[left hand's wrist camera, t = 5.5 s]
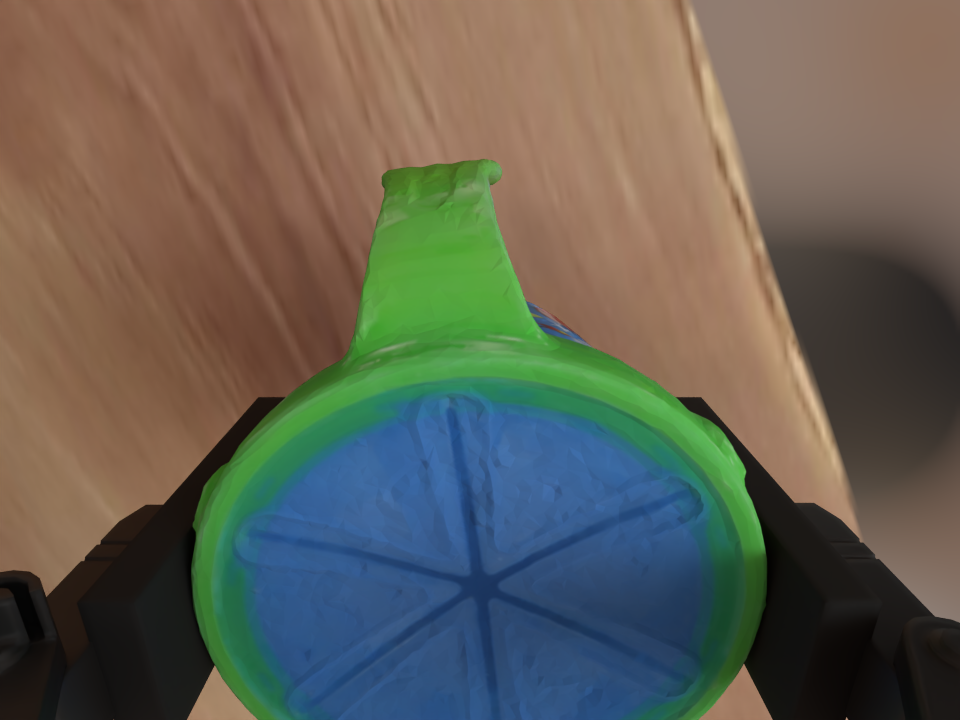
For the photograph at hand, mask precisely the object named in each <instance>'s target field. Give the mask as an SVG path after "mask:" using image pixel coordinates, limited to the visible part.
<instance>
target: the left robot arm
mask: <svg viewBox="0 0 960 720" xmlns="http://www.w3.org/2000/svg"><path fill="white" fill-rule="evenodd" d="M285 398H286V397H258V399H257V400H256V401H255V402H254V403H253V404H252V405H251V406H250V408H249V409H248V410H247V411H246V412H245V413H244V414H243V415H242V417H241V418H240V419H239V420H238V421H237V422H236V423H235V424H234V426H233V427H232V428H231V429H230V430H229V431H228V432H227V434H226V435H225V436H224V437H223V438H222V439H221V440H220V441H219V443H218V444H217V445H216V446H215V447H214V448H213V449H212V450H211V452H210V453H209V454H208V455H207V456H206V457H205V458H204V459H203V461H202V462H201V463H200V464H199V465H198V466H197V467H196V469H195V470H194V471H193V472H192V473H191V474H190V475H189V476H188V478H187V479H186V480H185V481H184V482H183V483H182V484H181V485H180V487H179V488H178V489H177V490H176V491H175V492H174V493H173V495H172V496H171V497H170V498H169V499H168V500H167V501H166V502H165V504H164V505H145V506H143V507H142V508H140V509H139V510H137V511H135V512H134V513H132V514H131V515H129V516H127V517H126V518H124V519H122V520H121V521H119V522H118V523H117V524H116V525H115V527H114V528H113V529H112V530H111V531H110V532H109V533H108V534H107V535H106V536H105V537H104V538H103V539H102V540H101V544H100V545H96V546H95V547H94V548H93V549H92V550H91V551H90V552H89V553H88V555H87V556H86V557H85V561H81V562H80V563H79V564H78V565H77V566H76V567H75V568H74V569H73V570H72V571H71V572H70V573H69V574H68V575H67V576H66V577H65V578H64V579H63V580H62V581H61V583H60V584H59V585H58V586H57V587H56V588H55V589H54V590H53V591H52V592H51V593H50V594H49V595H48V596H47V597H46V595H45V592H44V589H43V587H42V584H41V581H40V578H39V577H37V576H36V575H34V574H33V573H31V572H27V571H16V570H12V571H6V572H0V720H113V719H114V720H187V718H188V716H189V714H190V712H191V710H192V709H193V707H194V705H195V703H196V701H197V699H198V697H199V695H200V693H201V691H202V689H203V687H204V685H205V683H206V681H207V679H208V677H209V675H210V673H211V671H212V669H213V668H214V666H215V664H214V662H213V661H212V659H211V657H210V654H209V652H208V650H207V648H206V645H205V643H204V641H203V638H202V636H201V634H200V631H199V626H198V623H197V620H196V616H195V612H194V608H193V597H192V582H191V564H192V559H193V553H194V548H195V542H196V531H195V529H194V528H193V522H194V520H195V514H196V511H197V507H198V504H199V501H200V498H201V495H202V491H203V488H204V485H205V484H206V483H207V482H208V480H209V479H210V478H211V476H212V475H213V474H214V473H215V472H216V471H217V470H218V469H219V468H220V467H221V466H223V465H225V464H227V463H228V462H230V460H231V458H232V457H233V455H234V454H235V452H236V450H237V449H238V447H239V445H240V444H241V443H242V442H243V441H244V439H245V438H246V437H247V436H248V435H249V434H250V433H251V431H252V430H253V429H254V428H255V427H256V426H257V425H258V424H259V423H260V421H261V420H262V419H263V418H264V417H265V416H266V415H267V414H268V413H269V412H270V411H271V410H273V409H274V408H275V407H276V406H277V405H278V404H279V403H280V402H282V401H283V400H284V399H285ZM676 398H677V399H678V400H679V401H680V402H681V403H682V404H683V405H684V406H685V407H686V408H687V409H688V410H689V411H690V412H693V413H695V414H697V415H699V416H701V417H704V418H706V419H708V420H710V421H711V422H712V423H714V424H715V425H716V426H717V427H719V428H720V429H721V431H722V432H723V433H724V434H725V436H726V437H727V438H728V440H729V441H730V443H731V445H732V446H733V449H734V450H735V452H736V453H737V455H738V457H739V458H740V460H741V462H742V463H743V465H744V467H745V470H746V474H745V478H744V481H745V487H746V490H747V493H748V495H749V496H750V498H751V500H752V502H753V505H754V508H755V511H756V514H757V517H758V520H759V523H760V526H761V530H762V535H763V540H764V546H765V551H766V557H767V596H766V607H765V609H764V611H763V615H762V619H761V622H760V625H759V628H758V630H757V633H756V636H755V639H754V642H753V645H752V647H751V649H750V652H749V654H748V656H747V658H746V660H745V662H744V664H745V666H746V668H747V670H748V672H749V674H750V676H751V678H752V680H753V682H754V684H755V686H756V688H757V690H758V692H759V694H760V696H761V698H762V699H763V701H764V703H765V705H766V707H767V709H768V711H769V713H770V715H771V717H772V719H773V720H846V717H847V718H848V720H960V623H959V622H956V621H954V620H950V619H945V618H939V617H935V616H934V615H933V614H932V613H931V612H930V611H929V610H928V609H927V608H926V607H925V606H924V605H923V604H922V603H921V602H920V601H919V600H918V599H917V598H916V597H915V596H914V595H913V594H912V593H911V592H910V590H909V589H908V588H907V587H906V586H905V585H904V584H903V583H902V582H901V581H900V580H899V579H898V578H897V577H896V576H895V575H894V574H893V573H892V572H891V571H890V570H889V569H888V568H887V567H886V566H885V565H884V564H883V563H882V562H881V561H880V560H879V559H876V558H875V554H874V553H873V552H872V551H871V550H870V549H869V548H868V547H867V546H866V545H865V544H864V543H860V541H859V538H858V537H857V536H856V535H855V534H854V533H853V532H852V531H851V530H850V529H849V528H848V527H847V526H846V524H845V523H844V522H843V521H842V520H841V519H839V518H837V517H836V516H834V515H833V514H831V513H829V512H828V511H826V510H825V509H823V508H821V507H820V506H818V505H816V504H815V503H794V502H793V501H792V499H791V498H790V497H789V496H788V495H787V494H786V493H785V492H784V490H783V489H782V488H781V487H780V486H779V485H778V484H777V483H776V481H775V480H774V479H773V478H772V477H771V476H770V475H769V473H768V472H767V471H766V470H765V469H764V468H763V467H762V466H761V464H760V463H759V462H758V461H757V460H756V459H755V458H754V457H753V455H752V454H751V453H750V452H749V451H748V450H747V449H746V448H745V446H744V445H743V444H742V443H741V442H740V441H739V440H738V438H737V437H736V436H735V435H734V434H733V433H732V432H731V431H730V429H729V428H728V427H727V426H726V425H725V424H724V423H723V422H722V420H721V419H720V418H719V417H718V416H717V415H716V414H715V412H714V411H713V410H712V409H711V408H710V407H709V406H708V405H707V403H706V402H705V401H704V400H703V399H702V398H701V397H676Z"/></svg>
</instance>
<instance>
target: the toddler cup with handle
mask: <svg viewBox="0 0 960 720" xmlns="http://www.w3.org/2000/svg"><path fill="white" fill-rule="evenodd" d="M501 176H502V169H501V167H500V165H499V164H498V163H496V162H495V161H492V160H487V159H481V160H475V161H462V162H458V163H453V164H434V165H430V166H426V167H407V168H400V169H394V170H388V171H387V172H386V173H384V174H383V176H382V186H383V187H384V188H385V192H384V199H383V202H382V206H381V211H380V214H379V217H378V219H377V222H376V228H375V231H374V234H373V239H372V244H371V249H370V253H369V258H368V264H367V269H366V273H365V278H364V282H363V287H362V292H361V298H360V303H359V309H358V314H357V320H356V326H355V331H354V335H353V338H352V341H351V344H350V347H349V350H348V352H347V353H346V355H345V356H344V358H343V359H342V360H340V361H338V362H337V363H335V364H333V365H331V366H329V367H327V368H325V369H324V370H322V371H321V372H319V373H318V374H316V375H315V376H313V377H312V378H310V379H309V380H308V381H306V382H305V383H303V384H302V385H301V386H299V387H298V388H297V389H295V390H294V391H293V392H292V393H290V394H289V395H288V396H287V397H286V398H285V399H284V400H283V401H282V402H280V403H279V404H278V405H277V406H276V407H275V408H274V409H273V410H271V411H270V412H269V413H268V414H267V415H266V416H265V417H264V418H263V419H262V420H261V421H260V423H259V424H258V425H257V426H256V427H255V428H254V429H253V430H252V431H251V433H250V434H249V435H248V436H247V437H246V438H245V439H244V441H243V442H242V443H241V444H240V445H239V447H238V449H237V450H236V452H235V454H234V455H233V457H232V458H231V460H230V462H228V463H227V464H225V465H223V466H221V467H220V468H219V469H218V470H217V471H216V472H215V473H214V474H213V475H212V476H211V478H210V479H209V480H208V482H207V483H206V484H205V485H204V488H203V491H202V495H201V498H200V501H199V504H198V507H197V511H196V514H195V520H194V522H193V528H194V529H195V531H196V542H195V548H194V553H193V559H192V564H191V582H192V597H193V608H194V612H195V616H196V620H197V623H198V626H199V631H200V634H201V636H202V638H203V641H204V643H205V645H206V648H207V650H208V652H209V654H210V657H211V659H212V661H213V662H214V664H215V666H216V668H217V670H218V671H219V673H220V675H221V677H222V679H223V680H224V681H225V683H226V684H227V685H228V687H229V688H230V689H231V690H232V692H233V693H234V694H235V696H236V697H237V698H238V699H239V700H240V701H241V702H242V704H243V705H244V706H245V707H246V708H247V709H248V710H249V711H250V712H251V713H252V714H253V715H254V716H255V717H256V718H257V719H258V720H699V718H700V717H701V716H703V715H704V714H705V713H706V712H707V711H708V710H709V709H710V708H711V707H712V706H713V705H714V704H715V703H716V701H717V700H718V699H719V698H720V696H721V695H722V694H723V693H724V691H725V690H726V689H727V687H728V686H729V685H730V684H731V683H732V681H733V680H734V679H735V677H736V676H737V674H738V673H739V671H740V669H741V668H742V666H743V664H744V662H745V660H746V658H747V656H748V654H749V652H750V649H751V647H752V645H753V642H754V639H755V636H756V633H757V630H758V628H759V625H760V622H761V619H762V615H763V611H764V609H765V607H766V596H767V557H766V551H765V546H764V540H763V535H762V530H761V526H760V523H759V520H758V517H757V514H756V511H755V508H754V505H753V502H752V500H751V498H750V496H749V495H748V493H747V490H746V487H745V481H744V478H745V474H746V470H745V467H744V465H743V463H742V462H741V460H740V458H739V457H738V455H737V453H736V452H735V450H734V449H733V446H732V445H731V443H730V441H729V440H728V438H727V437H726V436H725V434H724V433H723V432H722V431H721V429H720V428H719V427H717V426H716V425H715V424H714V423H712V422H711V421H710V420H708V419H706V418H704V417H701V416H699V415H697V414H695V413H693V412H690V411H689V410H688V409H687V408H686V407H685V406H684V405H683V404H682V403H681V402H680V401H679V400H678V399H677V398H676V397H674V396H673V395H671V394H670V393H669V392H667V391H666V390H665V389H664V388H662V387H661V386H660V385H659V384H658V383H656V382H655V381H653V380H651V379H649V378H648V377H646V376H645V375H643V374H642V373H640V372H638V371H637V370H635V369H634V368H632V367H630V366H629V365H627V364H625V363H624V362H622V361H621V360H619V359H617V358H615V357H613V356H610V355H608V354H606V353H603V352H601V351H599V350H597V349H594V348H593V347H591V346H590V345H589V344H588V343H587V342H586V341H585V340H583V339H582V338H581V337H580V336H579V335H577V334H576V333H575V332H574V331H572V330H571V329H570V328H569V327H567V326H566V325H565V324H564V323H563V322H562V321H560V320H559V319H558V318H556V317H555V316H554V315H552V314H550V313H549V312H547V311H545V310H543V309H541V308H540V307H538V306H536V305H534V304H532V303H529V302H527V301H526V300H525V298H524V295H523V292H522V290H521V287H520V284H519V281H518V279H517V276H516V274H515V272H514V269H513V266H512V264H511V261H510V258H509V256H508V253H507V250H506V247H505V244H504V241H503V238H502V235H501V232H500V230H499V227H498V224H497V220H496V215H495V210H494V204H493V199H492V196H491V193H490V185H493V184H495V183H496V182H497V181H499V180H500V178H501Z"/></svg>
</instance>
